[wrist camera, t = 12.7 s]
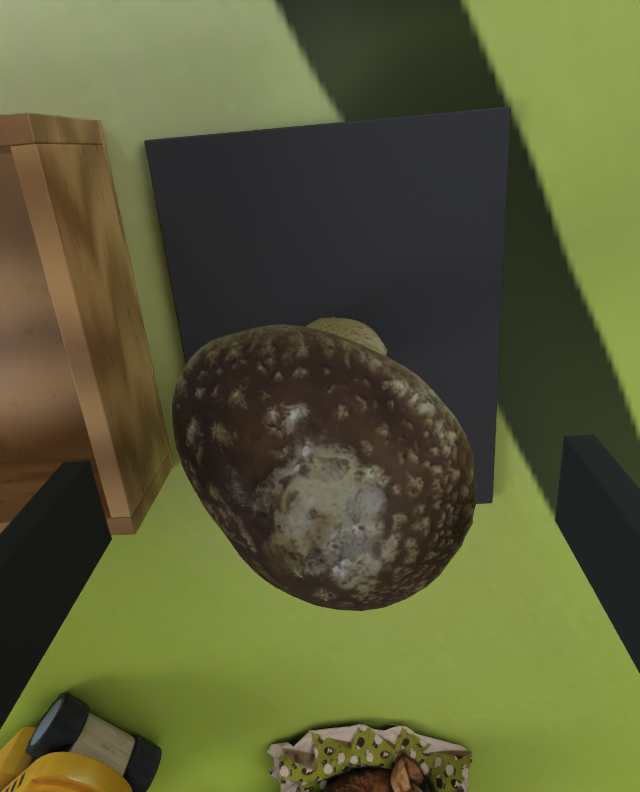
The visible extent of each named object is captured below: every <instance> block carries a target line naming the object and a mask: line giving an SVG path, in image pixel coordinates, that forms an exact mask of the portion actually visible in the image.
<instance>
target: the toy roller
mask: <svg viewBox="0 0 640 792" xmlns="http://www.w3.org/2000/svg"><path fill="white" fill-rule="evenodd" d="M89 710H90V708H89V706H88V705H86V704H84V703H82V702H81V701H79V700H77V699H76V698H74V697H72V696H71V695H69V694H67V693H62V694H60V695H59V697H58V698H57V700H56V701H55V702H53V703H52V706H51V707H50V708H49V709H48V711H47V712H46V713H45V715H44V716H43V718H42V719H41V721H40V723H39V724H38V726H37V728H34V727H23V728H22V729H21V730H20V731H19V732H18V733H17V734H16V735H15V736H14V737H13V738H12V739H11V740H10V741H9V742H8V743H7V744H6V745H5V746H4V747H3V748H2V749H1V750H0V792H146V791H147V789H148V788H149V787H150V785H151V783H152V780H153V779H154V777H155V774H156V772H157V769H158V766H159V763H160V759H161V753H162V752H161V749H160V747H158V746H157V745H155V744H153V743H151V742H150V741H148V740H146V739H144V738H143V737H141V736H139V735H136V736H134V737H132V736H131V735H129V734H127V733H126V732H124V731H122V730H120V729H119V728H117V727H115V726H113V725H112V724H110V723H108V722H106V721H105V720H103V719H101V718H99V717H97V716H95V715H93V714H91V713H90V712H89Z"/></svg>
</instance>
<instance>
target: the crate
mask: <svg viewBox="0 0 640 792" xmlns="http://www.w3.org/2000/svg"><path fill="white" fill-rule="evenodd" d="M72 461H90V464H91V468H92V471H93V475H94V478H95V482H96V485H97V489H98V492H99V496H100V499H101V503H102V506H103V510H104V513H105V517H106V520H107V524H108V527H109V531H110V534H111V535H125V534H136V532H137V530H138V529H139V527H140V525H141V523H142V521H143V520H144V518H145V516H146V514H147V512H148V511H149V509H150V507H151V505H152V503H153V502H154V500H155V498H156V496H157V494H158V493H159V491H160V489H161V487H162V485H163V484H164V482H165V480H166V478H167V476H168V475H169V473H170V471H171V469H172V468H173V462H172V457H171V452H170V448H169V443H168V438H167V434H166V429H165V424H164V419H163V415H162V410H161V405H160V401H159V396H158V391H157V386H156V382H155V377H154V372H153V367H152V363H151V358H150V353H149V349H148V344H147V339H146V334H145V330H144V325H143V320H142V316H141V311H140V306H139V301H138V297H137V292H136V287H135V282H134V278H133V273H132V268H131V264H130V259H129V254H128V249H127V245H126V240H125V235H124V231H123V226H122V221H121V216H120V212H119V207H118V202H117V197H116V193H115V188H114V183H113V179H112V174H111V169H110V164H109V160H108V155H107V150H106V146H105V141H104V136H103V131H102V127H101V122H100V120H90V119H81V118H72V117H63V116H54V115H45V114H36V113H27V112H26V113H16V114H6V115H0V534H1V533H2V531H3V530H4V529H5V528H6V527H7V526H8V525H9V523H10V522H11V521H12V520H13V519H14V518H15V517H16V515H17V514H18V513H19V512H20V511H21V510H22V509H23V507H24V506H25V505H26V504H27V503H28V502H29V501H30V499H31V498H32V497H33V496H34V495H35V494H36V493H37V492H38V490H39V489H40V488H41V487H42V486H43V485H44V484H45V482H46V481H47V480H48V479H49V478H50V477H51V476H52V474H53V473H54V472H55V471H56V470H57V469H58V468H59V466H60V465H61V464H62V463H63V462H72Z"/></svg>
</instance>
